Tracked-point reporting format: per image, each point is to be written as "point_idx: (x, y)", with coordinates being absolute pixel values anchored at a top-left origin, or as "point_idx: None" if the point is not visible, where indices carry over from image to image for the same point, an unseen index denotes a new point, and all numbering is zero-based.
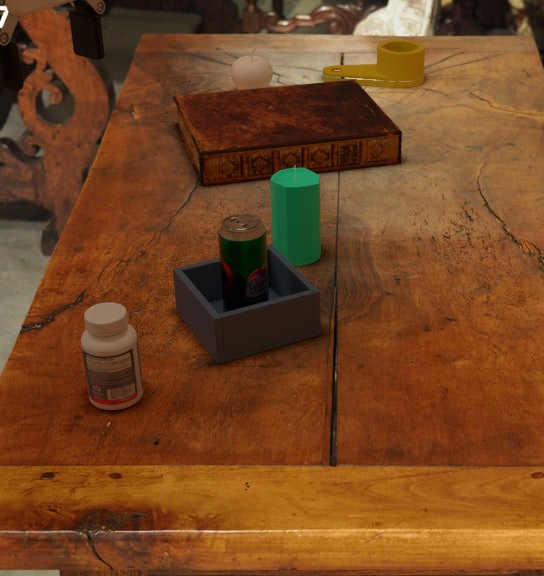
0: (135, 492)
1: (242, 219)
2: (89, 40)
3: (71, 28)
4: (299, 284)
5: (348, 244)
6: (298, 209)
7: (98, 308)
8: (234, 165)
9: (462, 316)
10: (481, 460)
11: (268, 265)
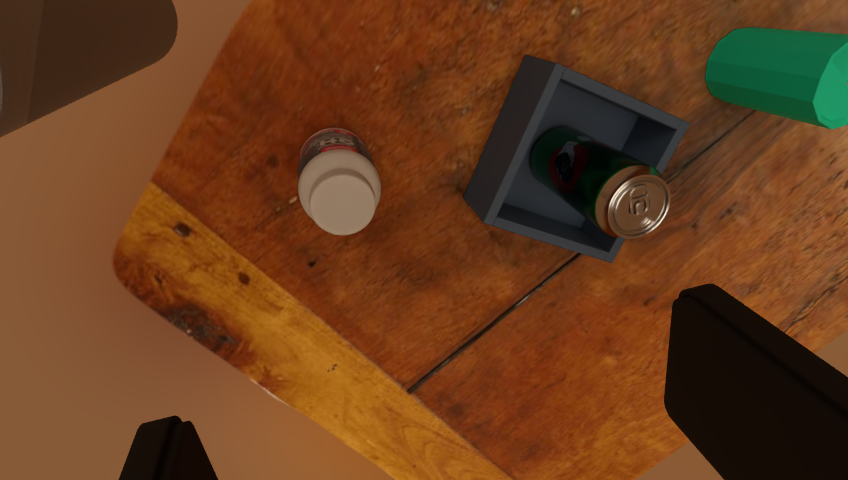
0: (244, 311)
1: (647, 202)
2: (721, 439)
3: (773, 378)
4: None
5: None
6: (783, 110)
7: (343, 189)
8: None
9: None
10: (492, 453)
11: (658, 123)
